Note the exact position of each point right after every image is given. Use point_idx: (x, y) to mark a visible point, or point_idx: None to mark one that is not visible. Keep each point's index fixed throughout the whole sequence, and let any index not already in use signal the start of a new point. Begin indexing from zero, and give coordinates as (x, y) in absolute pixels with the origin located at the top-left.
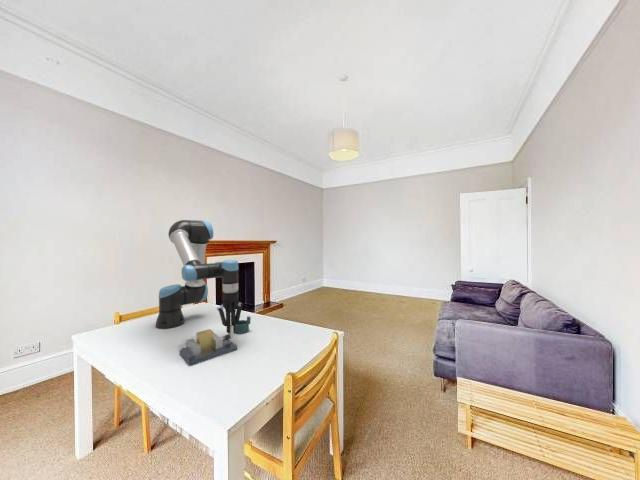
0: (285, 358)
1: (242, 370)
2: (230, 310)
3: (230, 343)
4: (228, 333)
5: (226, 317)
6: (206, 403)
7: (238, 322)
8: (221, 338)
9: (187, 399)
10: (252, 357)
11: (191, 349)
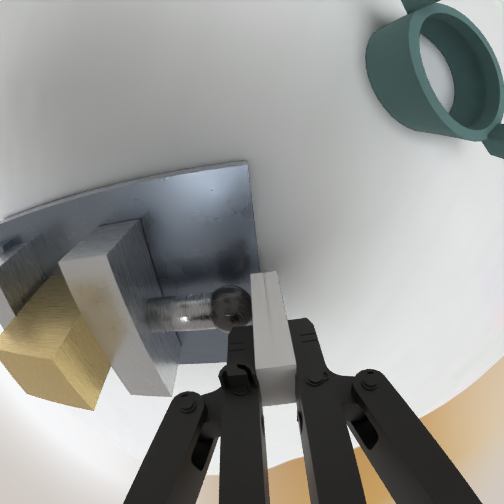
0: None
1: None
2: None
3: None
4: (252, 304)
5: (223, 489)
6: (137, 452)
7: (447, 19)
8: (166, 392)
9: (102, 433)
10: (288, 406)
11: None
